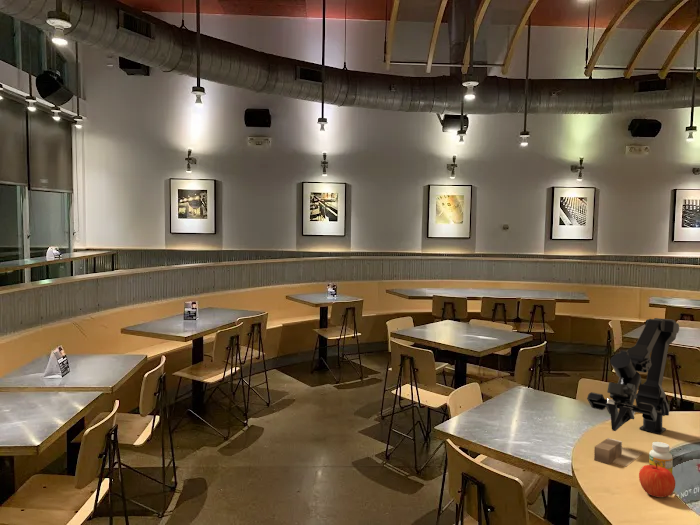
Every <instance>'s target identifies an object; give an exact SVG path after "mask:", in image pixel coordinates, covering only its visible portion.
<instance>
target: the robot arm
mask: <svg viewBox="0 0 700 525" xmlns="http://www.w3.org/2000/svg"><path fill="white" fill-rule="evenodd" d="M679 331H680V324H679V323H678V322H676V320H675V319H670V318H669V319H668V318H658V317H654V318H648V319H646V320H645V323H644V327H643V329H642V331H641V333H640V336H639V337H638V339H637V341H636V343H635V344H634V346H632V347H629V348H628V349H627V350H620V352H619V353H615V354H614V355H612V357H611V358H610V361H609V362H610V365H611V366H612V368H613V370H614V372H615V375H616V376H617V377H619V378H618V382H611V381H610V382H608V385H607V393H608V394H609V398H606V399H605V397H604V395H603V393H597V392H593V391H592V392H589V393H588V395H587V397H586V399H587V401H588V403H589V405H590V407H591V408H592V409H595V410H599V411H603V410H605V409H606V410H607V412H608V414H609V415H610V425H611V431H612V432H616V431H618V430H619V429H620V428H621V427H622V426H623V425H625V424H626V423H627V422H629V421H630V420H635V414H636V413H639V414H641V415H642V416H641V417H642V425H640V426H639V428H638V429H639V430H641V431H646V432H650V433H654V434H659V435H661V434H662V433H664V432H665V431H666V430H667V428H666V427H664V426H663V417H665V416H669V415H670V405H669V403H668V400H667V399H666V393H665V392H666V391H665V390H664V388H663V381H664V373H665V368H666V365H667V364H666V363H667V356H668V352H669V347H670V345H671V344H672V343H673V342H674V341H675V340H676V338H677V334H678V333H679ZM640 373H647V374H646V380H645V381H644V382H643V383H642V375H641V374H640ZM634 402H635V405H634Z"/></svg>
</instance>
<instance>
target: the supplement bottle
mask: <svg viewBox="0 0 700 525" xmlns="http://www.w3.org/2000/svg"><path fill="white" fill-rule="evenodd" d="M651 444H652V445H651V448H652V449H651V450H649V453H648V456H649V457H648V458H649V459H648V460H649V461H648V462H649V463H648V465H654V466H656V464H655V463H657V466H659V467H663V468H666V469H667V470H669V471H670V472H671V473H672V474H673V463H674V462H673V455H672V453H671V452H670V451H671V450H670V444H668V443H665V442H661V441H653V442H652V443H651Z"/></svg>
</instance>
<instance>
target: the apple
mask: <svg viewBox="0 0 700 525" xmlns="http://www.w3.org/2000/svg"><path fill="white" fill-rule="evenodd" d="M655 464H656V466H654V465H649V464H645V465H643V466H642V467H641V468H640V469H639V473H638V478H639V483H640V486H641V488H642V489H643V491H644V492H645V493H646V494H648V495H650V496H652V497H658V498H665V497H666V498H667V497H669V496H671V495H672V494H673V493H674V491H675V489H676V479H675V476H674V474H673V472H672V473H671V472H670V471H669V470H667V469H666V468H663V467H659V466H657V463H655Z"/></svg>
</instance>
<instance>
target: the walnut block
mask: <svg viewBox="0 0 700 525" xmlns="http://www.w3.org/2000/svg"><path fill="white" fill-rule="evenodd" d="M622 447H623V441H622V440H618V439H613V438H610V437H607V438H606V439H604V440H602V441H601V442H600V443H598V444H597V445H594V450H593V451H594V452H593V453H594V461H597V462H600V463H603V464H606V465H610V464H611V463H612V461H614V460H615V459H617V458H618V457H619V456H621V455H622Z"/></svg>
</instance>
